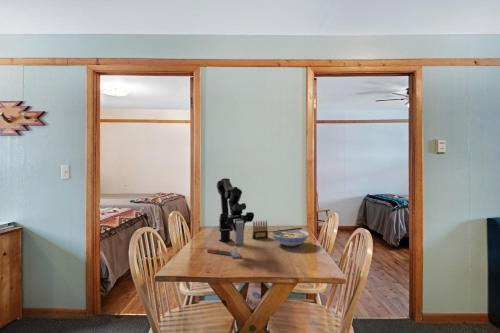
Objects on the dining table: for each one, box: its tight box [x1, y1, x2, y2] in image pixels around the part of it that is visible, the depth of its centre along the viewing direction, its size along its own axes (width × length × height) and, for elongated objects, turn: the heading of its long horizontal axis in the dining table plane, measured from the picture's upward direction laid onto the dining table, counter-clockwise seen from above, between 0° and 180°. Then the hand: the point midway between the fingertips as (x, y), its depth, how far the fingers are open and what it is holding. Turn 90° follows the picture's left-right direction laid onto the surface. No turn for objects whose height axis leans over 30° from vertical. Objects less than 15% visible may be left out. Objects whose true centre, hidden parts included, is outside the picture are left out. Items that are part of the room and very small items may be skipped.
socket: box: [233, 219, 245, 245], centre depth 143 cm, size 4×4×12 cm
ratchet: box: [207, 245, 241, 259], centre depth 145 cm, size 7×20×5 cm, turn 71°
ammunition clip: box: [251, 219, 269, 240], centre depth 180 cm, size 11×2×12 cm, turn 108°
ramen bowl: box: [269, 227, 310, 248], centre depth 164 cm, size 25×23×8 cm
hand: (239, 230), depth 142 cm, fingers closed on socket, 4 cm apart
